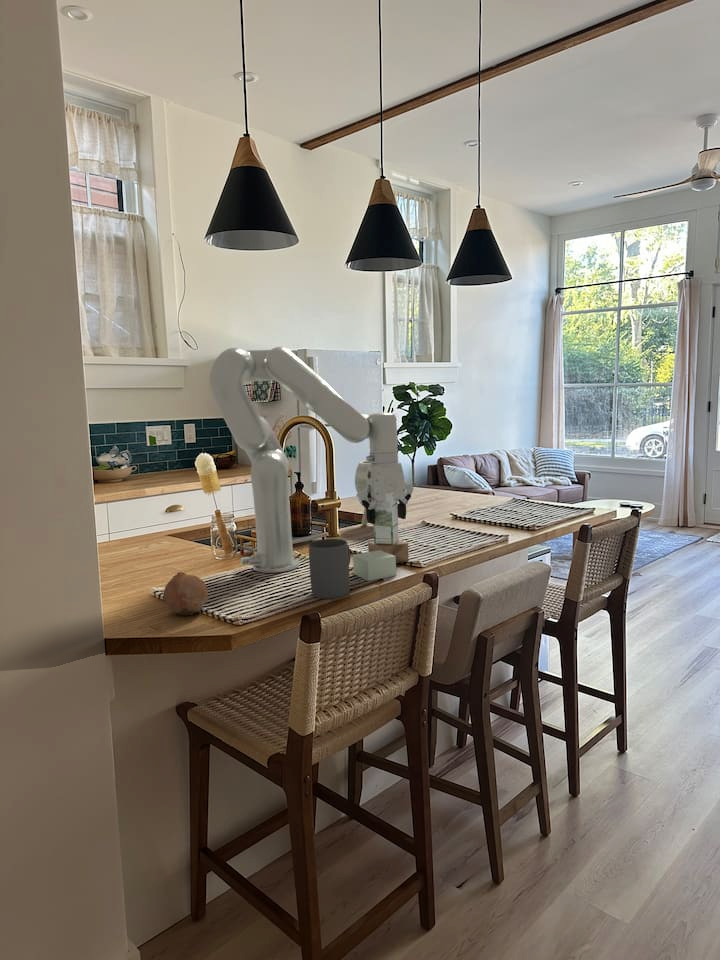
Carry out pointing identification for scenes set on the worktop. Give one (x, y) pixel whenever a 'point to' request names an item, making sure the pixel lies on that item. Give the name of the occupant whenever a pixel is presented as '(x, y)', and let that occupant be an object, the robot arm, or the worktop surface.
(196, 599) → the onion
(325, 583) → the mug
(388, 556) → the sage block
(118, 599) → the worktop surface
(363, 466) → the planter
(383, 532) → the syrup box
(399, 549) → the walnut block
